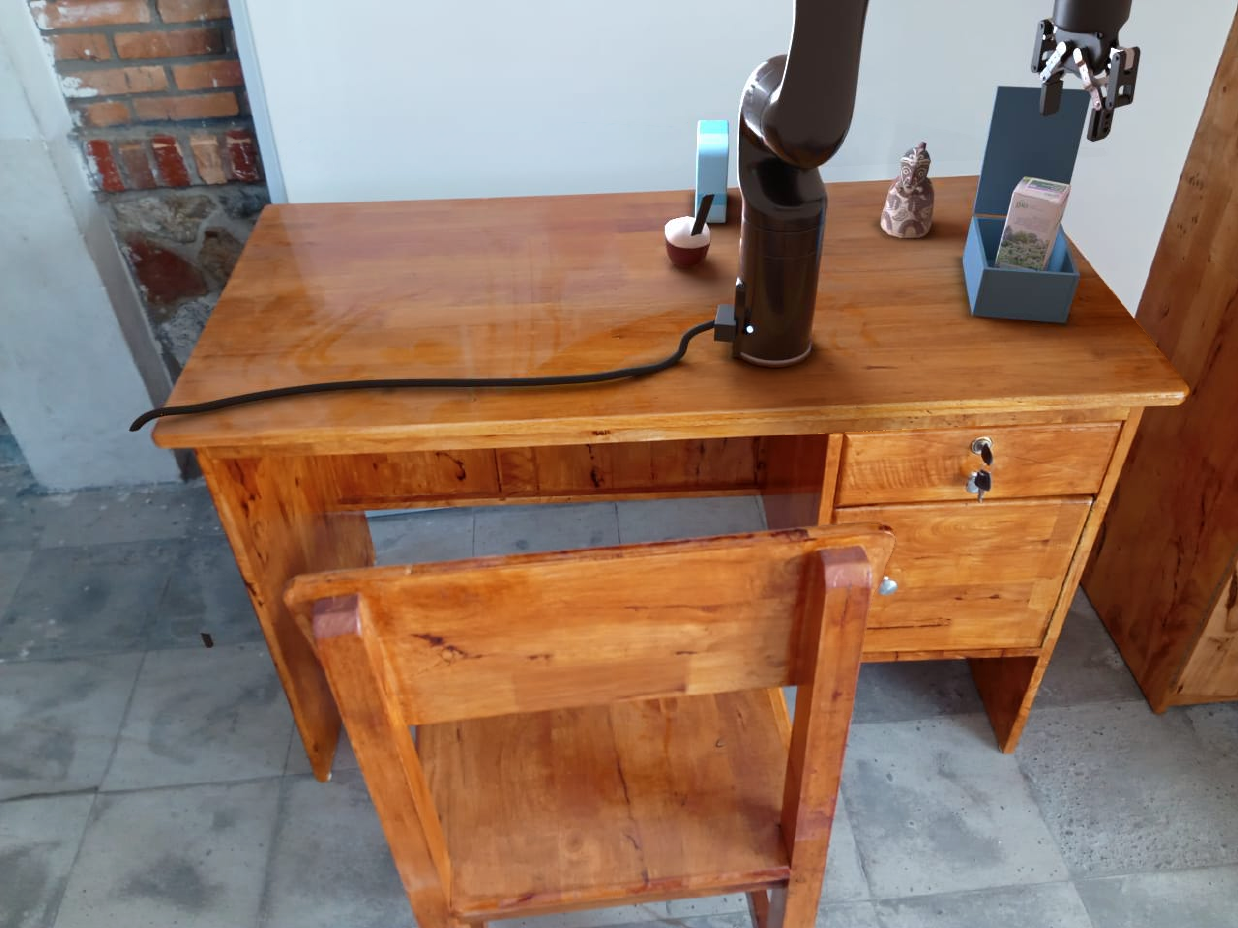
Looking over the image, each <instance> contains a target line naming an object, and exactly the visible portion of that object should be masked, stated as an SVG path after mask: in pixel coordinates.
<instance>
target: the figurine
mask: <svg viewBox="0 0 1238 928" xmlns="http://www.w3.org/2000/svg"><path fill="white" fill-rule="evenodd" d="M927 145H928V143H927V142H925V141H920V142H919V143H918V146H915V147H911V148H910V149H908V150H907V151H906V152H904V155H903V157H902V158H900V171H899V175H897V176H896V178H894V179H893V180H892V182H891V184H890V186H889V188H888V191H887V196H886V200H885V204H884V207H883V210H882V213H881V217H880V226H881V229H882V230H883V231H884V232H886V234H887V235H889V236H893V237H897V238H900V239H905V238H906V239H913V238H914V239H915V238H916V239H917V238H922V237H924V236H925V235H927V234H928V233H929V232H930V229H931V227H932V223H933V217H934V208H935V207H934V206H935V189H934V184H933V182H932V180H931V178H929V177H928V174H929V171H930V165H931V164H932V163H931V162H932V159H931V156H930V155H931V154H930V153H929V151H928V150H927Z"/></svg>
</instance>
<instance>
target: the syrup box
mask: <svg viewBox="0 0 1238 928" xmlns="http://www.w3.org/2000/svg"><path fill="white" fill-rule="evenodd" d="M1071 190H1072V185H1071V184H1070V185H1068V184H1063V183H1058V182H1053V181H1048V180H1042V179H1037V178H1032V177H1026V176H1025V177H1024V178H1023V179H1022V180H1021V181H1020V183H1019V184H1018V185H1017V187H1016V188H1015V190H1014V191H1013V195H1012V198H1011V202H1010V206H1009V211H1008V215H1007V216H1006V218H1007V219H1006V223H1005V227H1004V231H1003V234H1002V238H1001V242H1000V246H999V250H998V254H997V258H996V262H995V266H994V268H1005V269H1019V270H1034V271H1047V267H1048V264H1049V260H1050V257H1051V253H1052V250H1053V247H1054V244H1055V240H1056V237H1057V234H1058V230H1059V227H1060V224H1061V225H1062V220H1063V217H1064V214H1065V210H1066V207H1067V204H1068V201H1069V197H1070V193H1071Z"/></svg>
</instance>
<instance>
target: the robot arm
mask: <svg viewBox="0 0 1238 928" xmlns="http://www.w3.org/2000/svg"><path fill="white" fill-rule="evenodd" d="M869 4H870V0H793V22H792V31H791V39H790V44H789V49H788V54H787V53H786V54H785V53H784V54H779V55H774V56H772V57H770V58H768V59H766V60H765V61H763V62H762V63H761V64H760V65H758V66H757V67H756V68H755V69H754V71H753V72H752V73H751V75H750V76H749V78H748V80H747V81H746V84H745V86H744V88H743V92H742V94H741V98H740V103H739V110H738V111H739V112H738V127H737V132H738V133H737V171H736V172H737V184H738V189H739V192H740V196H741V221H740V222H741V223H740V235H739V236H740V238H739V252H738V269H737V278H736V282H735V290H734V304H725V303H724V304H723V303H722V304H721V303H719V304H718V307H717V312H716V316H715V318H713V319H711V320H707V321H704V322H702V323H699V324H697V325H695V326H693V327H691V328H689V329H688V330H687V331H686V332H685V333H684V334H683V335H682V337H681V339H680V342H679V346H678V349H677V350H676V351H675V352H674V353H673V354H672V355H671V356H669V357H667V358H666V359H664V360H662V361H660V362H657V363H653V364H648V365H641V366H634V367H627V368H621V369H615V370H610V371H604V372H597V373H587V374H572V375H570V374H569V375H554V376H539V377H537V376H536V377H535V376H534V377H497V378H496V377H495V378H491V377H490V378H484V377H483V378H383V379H382V378H381V379H379V378H378V379H359V380H358V379H357V380H344V381H329V382H320V383H310V384H303V385H295V386H294V385H293V386H287V387H286V386H285V387H280V388H274V389H267V390H261V391H255V392H249V393H245V394H240V395H239V394H238V395H234V396H230V397H225V398H219V399H215V400H211V401H206V402H202V403H201V402H200V403H196V404H187V405H174V406H164V407H159V408H154V409H151V410H148V411H146V412H144V413H142V414H141V415H140V416H138V417H137V418H136V419H135V420H134V421H133V422H132V423H131V425H130V427H129V429H128V431H129V432H130V433H134V432H138V431H139V430H141V429H142V428H143V427H144V426H145V425H146V424H148V423H149V422H150V421H153V420H156V419H158V418H162V417H169V416H183V415H192V414H200V413H205V412H209V411H214V410H219V409H223V408H229V407H233V406H237V405H243V404H247V403H254V402H258V401H264V400H271V399H276V398H284V397H290V396H291V397H292V396H297V395H298V396H299V395H305V394H314V393H323V392H334V391H335V392H336V391H347V390H361V389H362V390H363V389H388V388H389V389H390V388H391V389H392V388H492V387H493V388H504V387H507V388H508V387H511V388H512V387H515V388H516V387H541V386H542V387H544V386H559V385H560V386H561V385H576V384H589V383H599V382H606V381H611V380H617V379H622V378H627V377H628V378H629V377H636V376H643V375H648V374H652V373H655V372H659V371H661V370H664V369H666V368H669V367H671V366H673V365H675V364H676V363H678V362H679V361H680V360H681V359H683V357H684V356H685V355H686V353H687V352H688V351H687V350H688V347H689V343H690V341H691V340H692V339H693V338H695V337H696V336H697V335H699V334H702V333H704V332H708V331H710V330H713V341H714V342H722V343H731V353H730V354H731V355H730V356H731V357H732V358H738V359H742V360H743V361H745V362H746V363H749V364H752V365H755V366H759V367H765V368H786V367H787V368H788V367H792V366H795V365H797V364H799V363H801V362H803V361H805V360H806V359H807V358H808V357H809V355H810V354H811V351H812V350H811V349H812V344H813V343H812V338H813V328H814V322H815V321H814V320H815V312H816V304H817V297H818V296H817V295H818V287H819V279H820V270H821V264H822V256H823V255H822V254H823V246H824V237H825V230H826V222H827V214H828V208H829V207H828V206H829V194H828V189H827V187H826V185H825V182H824V180H823V178H822V175H821V172H820V168H819V167H822V166H823V165H825V164H826V163H827V162H829V161H830V160H832V159H833V157H834V156H835V155H836V154H837V153H838V151H839V150H840V149H841V147H842V146H843V144H844V142H845V140H846V138H847V136H848V135H849V132H850V128H851V125H852V122H853V119H854V112H855V108H856V101H857V100H856V99H857V91H858V83H859V75H860V65H861V56H862V47H863V40H864V34H865V33H864V32H865V26H866V21H867V20H866V19H867V15H868V9H869ZM1132 5H1133V0H1054V3H1053V8H1052V15H1051V16H1052V17H1049V18H1045V19H1042V20H1039V21H1038V23H1037V27H1036V34H1035V39H1034V45H1033V51H1032V57H1031V62H1030V71H1031V73H1032V74H1037V75H1038V76H1039V77H1038V78H1039V83H1041V87H1040V88H1041V96H1040V103H1039V105H1040V110H1039V113H1040V114H1041V115H1043V116H1049V115H1052V114H1055V113H1057V112H1058V111H1059V108H1060V102H1061V95H1062V89H1063V87H1064V80H1062V79H1063V78H1064V77H1065V76H1066V75H1067V74H1073V75H1074V76H1075V77H1077V79H1080V80H1081V81H1082V84H1083V88H1084V89H1085V90H1086V91H1089V92H1090V95H1091V102H1092V106H1093V107H1092V108H1091V111H1090V117H1089V122H1088V126H1087V134H1086V140H1087V141H1089V142H1090V143H1096V142H1099V141H1102V140H1105V139H1106V138H1107V137H1108V136H1109V135H1110V133H1111V130H1112V126H1113V119H1114V114H1115V111H1116V109H1118V108H1122V107H1126V106H1129V105H1132V104H1133V101H1134V97H1135V91H1136V86H1137V85H1136V84H1137V78H1138V73H1139V66H1140V59H1141V52H1142V51H1141V48H1140V47H1139V46H1137V45H1136V46H1132V47H1124V46H1121V45H1120V37H1119V35H1120V31H1121V29H1122V28H1123V26H1124V25H1125V24H1126V23H1127V22H1128V21H1129V19H1130V15H1131V11H1132ZM1045 53H1046V58H1044V59H1043V56H1044V54H1045ZM1103 72H1105V76H1103V77H1100V78H1096V77H1097V76H1099V75H1101V74H1102V73H1103ZM1103 87H1104V88H1105V91H1106V95H1105V96H1104V94H1103V91H1102V88H1103ZM1121 87H1122V91H1121V92H1122V93H1120V90H1121ZM161 414H162V415H161ZM200 636H201V638H202V641H203V642H204V645H205V647H206V648H207V649H210V648H213V647H214V641H213V638H212V636H211V634H209V633H204V632H200Z"/></svg>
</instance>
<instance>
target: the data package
mask: <svg viewBox="0 0 1238 928" xmlns="http://www.w3.org/2000/svg"><path fill="white" fill-rule="evenodd" d="M696 143H697V145H696V146H697V147H696V171H695V172H696V173H695V174H696V175H695V207H694V208H695V209H694V219H696V217H697V214H698V211H699V208H700V205H701V202H702V199H703V196H704V195H708V194H715V196H714V199H713V202H712V205H711V208H710V211H709V214H708V216H707V219H706V222H705V223H706V224H708V223H709V224H725V223H726V218H727V201H728V179H729V163H730V162H729V159H730V124H729V120H699V121H698V122H697V142H696Z"/></svg>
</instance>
